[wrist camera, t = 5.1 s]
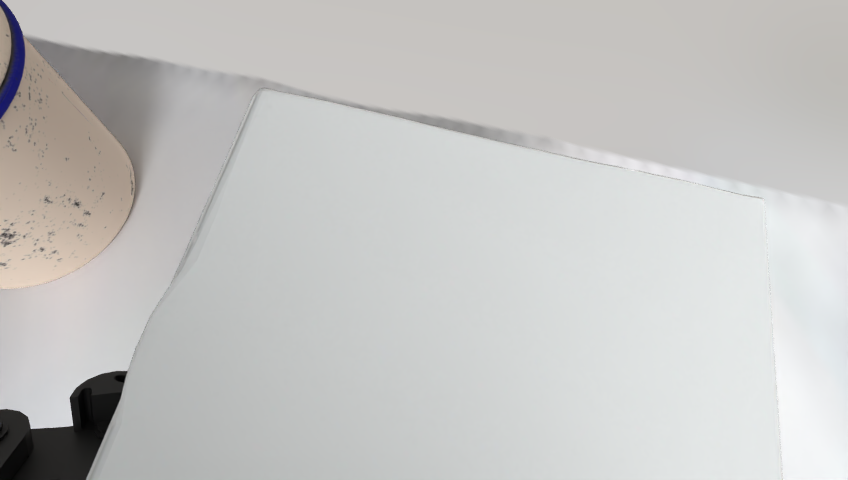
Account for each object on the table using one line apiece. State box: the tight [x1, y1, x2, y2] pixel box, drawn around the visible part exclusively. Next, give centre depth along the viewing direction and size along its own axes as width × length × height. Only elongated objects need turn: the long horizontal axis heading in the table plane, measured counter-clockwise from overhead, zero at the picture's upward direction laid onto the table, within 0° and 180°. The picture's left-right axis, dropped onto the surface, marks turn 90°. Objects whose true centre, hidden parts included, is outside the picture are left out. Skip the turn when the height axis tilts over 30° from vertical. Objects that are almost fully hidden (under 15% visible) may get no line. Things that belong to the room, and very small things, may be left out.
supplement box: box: [86, 88, 783, 480], centre depth 13 cm, size 9×9×15 cm
